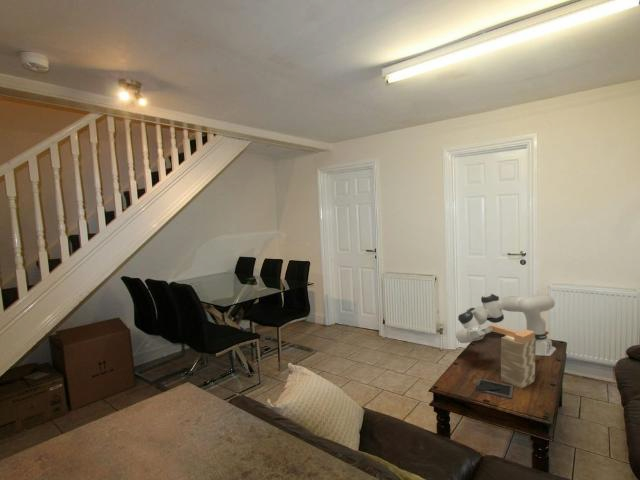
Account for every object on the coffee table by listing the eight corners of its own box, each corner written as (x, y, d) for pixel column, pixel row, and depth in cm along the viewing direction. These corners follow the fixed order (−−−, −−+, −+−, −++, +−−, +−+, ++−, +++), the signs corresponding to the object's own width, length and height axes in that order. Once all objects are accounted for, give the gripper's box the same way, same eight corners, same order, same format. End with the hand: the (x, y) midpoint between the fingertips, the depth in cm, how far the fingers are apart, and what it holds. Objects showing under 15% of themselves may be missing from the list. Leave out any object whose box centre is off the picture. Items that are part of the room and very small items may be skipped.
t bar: (496, 327, 218) (496, 320, 217) (534, 338, 198) (534, 331, 197) (484, 331, 211) (484, 325, 211) (523, 343, 192) (523, 337, 191)
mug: (532, 369, 215) (532, 354, 214) (544, 374, 209) (545, 359, 207) (520, 374, 210) (520, 359, 209) (532, 379, 203) (532, 364, 202)
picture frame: (475, 391, 195) (511, 400, 185) (475, 388, 194) (511, 396, 185) (478, 380, 206) (513, 388, 196) (478, 377, 206) (513, 385, 196)
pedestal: (514, 373, 212) (514, 332, 209) (534, 381, 201) (535, 338, 198) (500, 380, 204) (501, 337, 202) (521, 388, 194) (522, 344, 191)
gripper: (489, 333, 227) (507, 328, 216) (469, 341, 217) (487, 336, 206) (484, 324, 229) (502, 318, 218) (465, 331, 219) (482, 326, 208)
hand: (495, 327), depth 212 cm, fingers closed on t bar, 3 cm apart
